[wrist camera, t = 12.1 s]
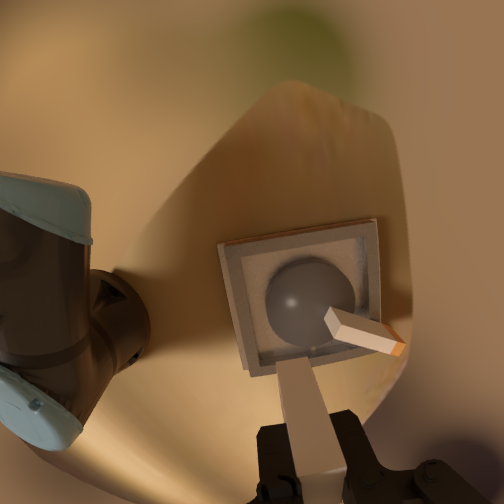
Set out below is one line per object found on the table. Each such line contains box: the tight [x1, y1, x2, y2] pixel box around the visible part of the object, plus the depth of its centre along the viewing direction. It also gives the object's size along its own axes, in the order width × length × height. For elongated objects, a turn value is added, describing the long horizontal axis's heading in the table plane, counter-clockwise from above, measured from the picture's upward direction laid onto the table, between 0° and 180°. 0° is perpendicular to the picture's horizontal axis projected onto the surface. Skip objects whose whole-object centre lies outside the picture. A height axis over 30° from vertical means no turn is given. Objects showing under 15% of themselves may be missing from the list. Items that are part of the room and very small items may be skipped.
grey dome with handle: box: [265, 258, 406, 356], centre depth 35 cm, size 17×11×7 cm, turn 69°
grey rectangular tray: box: [217, 218, 381, 377], centre depth 38 cm, size 20×18×3 cm
